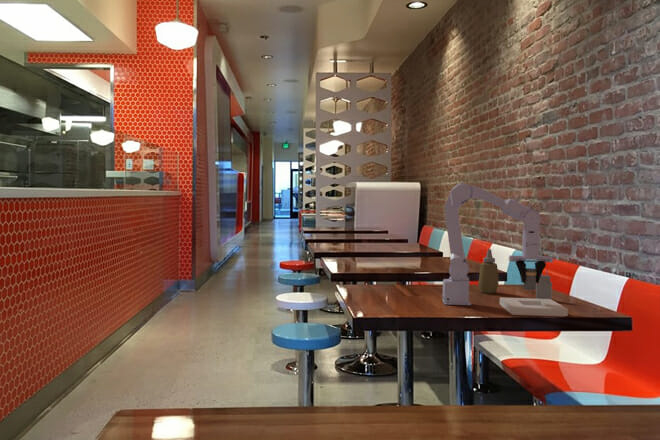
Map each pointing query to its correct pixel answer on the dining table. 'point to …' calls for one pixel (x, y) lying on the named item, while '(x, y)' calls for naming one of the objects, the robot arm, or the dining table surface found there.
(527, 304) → the board
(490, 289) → the squeeze bottle
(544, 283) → the power adapter
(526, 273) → the grey spice jar
